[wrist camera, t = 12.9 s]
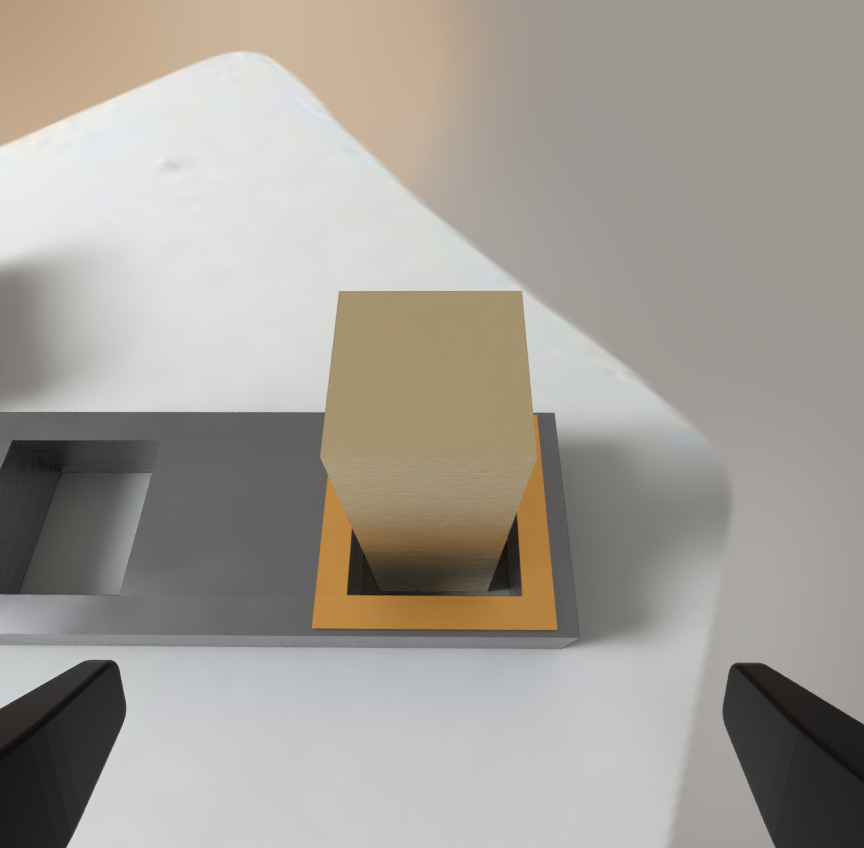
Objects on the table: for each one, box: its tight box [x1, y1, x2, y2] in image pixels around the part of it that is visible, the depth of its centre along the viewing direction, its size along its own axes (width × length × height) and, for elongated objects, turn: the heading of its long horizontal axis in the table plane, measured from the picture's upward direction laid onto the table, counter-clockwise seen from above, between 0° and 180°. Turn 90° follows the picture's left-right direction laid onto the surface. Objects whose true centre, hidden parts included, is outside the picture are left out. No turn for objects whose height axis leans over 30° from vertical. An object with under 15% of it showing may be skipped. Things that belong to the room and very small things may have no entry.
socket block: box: [0, 412, 579, 649], centre depth 20 cm, size 22×8×3 cm, turn 89°
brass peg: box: [320, 291, 537, 592], centre depth 16 cm, size 4×4×12 cm
